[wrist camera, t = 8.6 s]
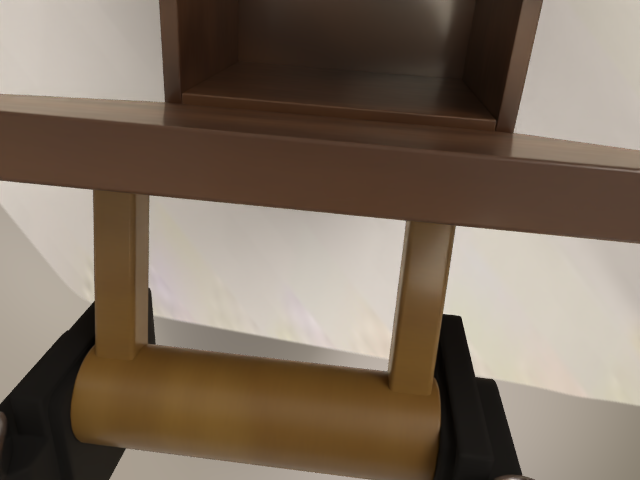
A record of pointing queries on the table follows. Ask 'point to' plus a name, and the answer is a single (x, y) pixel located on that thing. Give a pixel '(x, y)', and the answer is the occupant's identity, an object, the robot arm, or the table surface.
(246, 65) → the chest
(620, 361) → the table surface
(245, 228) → the table surface
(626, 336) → the table surface
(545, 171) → the chest lid
